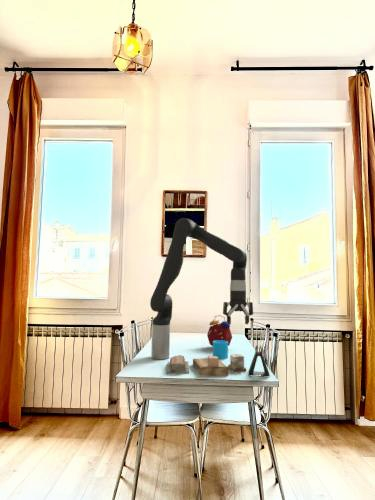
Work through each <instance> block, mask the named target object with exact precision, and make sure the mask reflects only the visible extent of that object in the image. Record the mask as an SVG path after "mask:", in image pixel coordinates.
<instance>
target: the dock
mask: <svg viewBox="0 0 375 500" xmlns="http://www.w3.org/2000/svg"><path fill="white" fill-rule="evenodd" d="M192 366H193V367H194V369H195V370H196V371H197V373H198V374H199V375H200V377H213V376H215V377H216V376H217V377H219V376H229V367H228V365H226V364H224V363H223V362H222V361H221V359H219V367H209V366H208V357H207V358H206V357H205V358H192Z"/></svg>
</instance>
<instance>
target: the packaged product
mask: <svg viewBox="0 0 375 500" xmlns="http://www.w3.org/2000/svg"><path fill="white" fill-rule="evenodd" d="M189 365H190V364H189V361H187V360H185V356H183V355H181V354H180V355H175V356H171V357H170V360H169V361H168V362H167V367H166V368H167V369H166V373H167V374H176V375H177V374H180V375H181V374H182V375H183V374H187V375H189V374H190V367H189Z"/></svg>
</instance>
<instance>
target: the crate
mask: <svg viewBox="0 0 375 500" xmlns="http://www.w3.org/2000/svg"><path fill="white" fill-rule="evenodd" d="M207 358H208V366H209V367H219V360H220V359H219V358H218V357H217V356H213V355H210V356H207Z"/></svg>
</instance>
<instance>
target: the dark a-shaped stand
mask: <svg viewBox="0 0 375 500" xmlns="http://www.w3.org/2000/svg"><path fill="white" fill-rule="evenodd" d="M254 349H255V351H254V355H253V356H252V357H253V358H252V360H251V363H250V367H249V369H248V376H249V375H261V376H260V377H264V376H269V377H270V376H271V375H270V371H269V368H268V367H267V363H266V361H265V358H264V355H263V351H264V350H263V347H262V346H261V345H259V346H258V345H256V346H255V348H254ZM258 349H260V351H258ZM258 357H260V360H261V365H262V367H263V371H255V368H256V363H257V361H258ZM269 377H268V378H269Z"/></svg>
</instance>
